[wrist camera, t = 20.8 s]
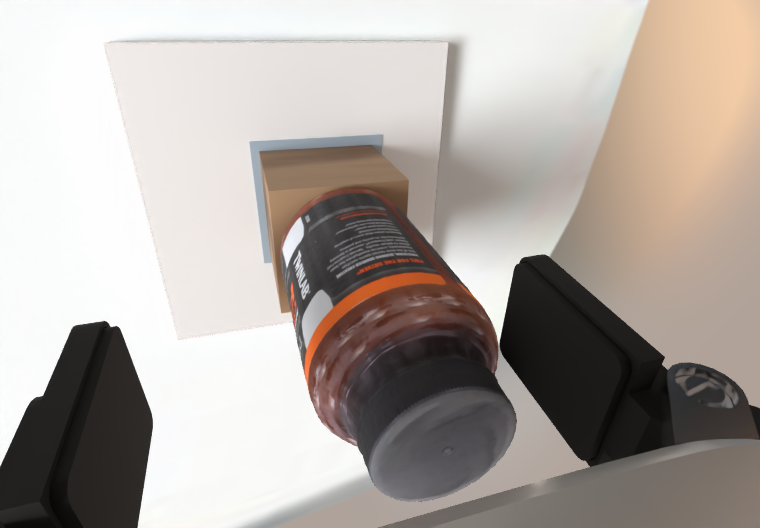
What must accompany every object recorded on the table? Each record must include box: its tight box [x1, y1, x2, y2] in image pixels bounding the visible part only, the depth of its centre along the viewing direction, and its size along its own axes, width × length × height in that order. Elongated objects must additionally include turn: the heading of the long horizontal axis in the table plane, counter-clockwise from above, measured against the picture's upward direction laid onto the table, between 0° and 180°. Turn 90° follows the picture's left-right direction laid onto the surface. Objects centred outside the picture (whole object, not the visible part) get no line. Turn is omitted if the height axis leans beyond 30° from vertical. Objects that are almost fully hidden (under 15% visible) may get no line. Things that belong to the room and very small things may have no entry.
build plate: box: [104, 41, 448, 340], centre depth 26 cm, size 16×16×1 cm
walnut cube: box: [259, 145, 409, 313], centre depth 23 cm, size 6×6×6 cm
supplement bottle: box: [280, 188, 517, 502], centre depth 16 cm, size 6×6×11 cm
